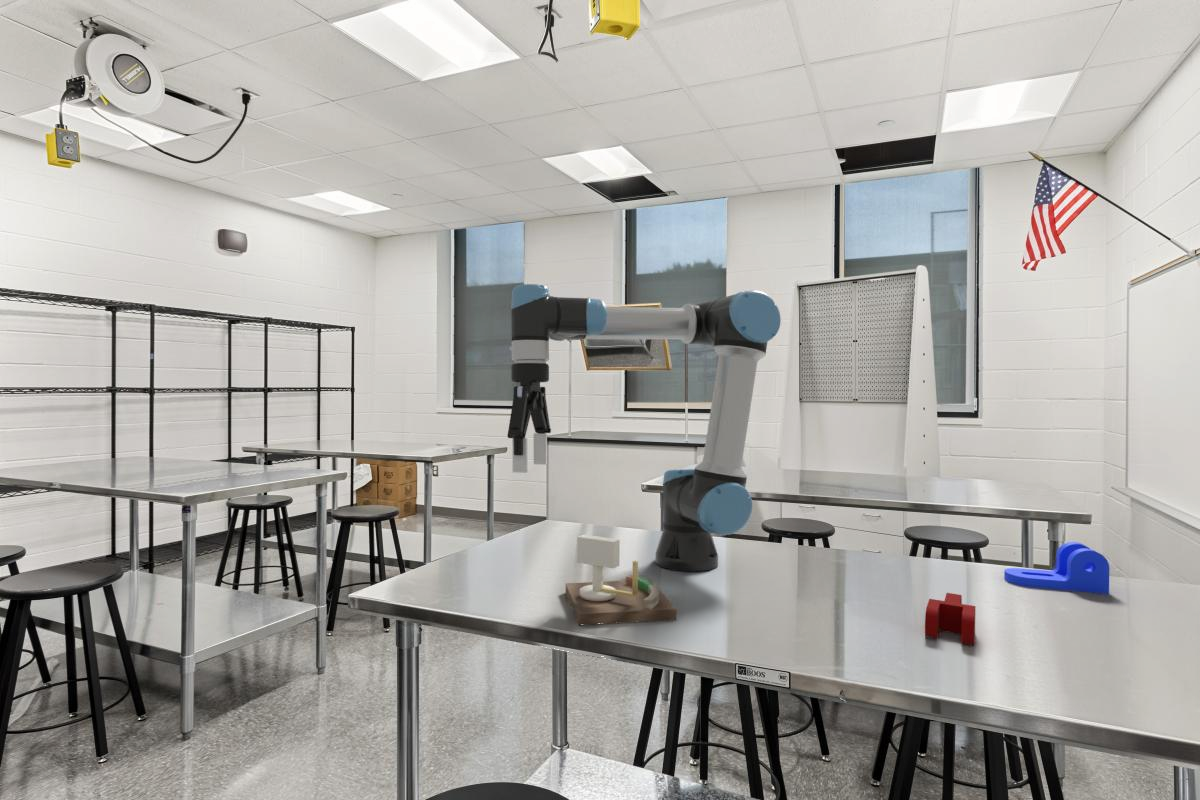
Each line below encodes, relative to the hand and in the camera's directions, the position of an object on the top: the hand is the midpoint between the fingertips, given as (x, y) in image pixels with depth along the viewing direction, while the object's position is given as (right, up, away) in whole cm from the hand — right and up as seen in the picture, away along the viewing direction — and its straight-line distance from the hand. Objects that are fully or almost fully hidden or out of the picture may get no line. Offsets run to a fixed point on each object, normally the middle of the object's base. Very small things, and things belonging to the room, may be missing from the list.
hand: (530, 468), depth 128 cm
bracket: (+114, -27, +12) cm, 118 cm away
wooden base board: (+17, -26, -5) cm, 32 cm away
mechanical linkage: (+76, -27, -16) cm, 82 cm away
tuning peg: (+15, -24, -7) cm, 29 cm away
